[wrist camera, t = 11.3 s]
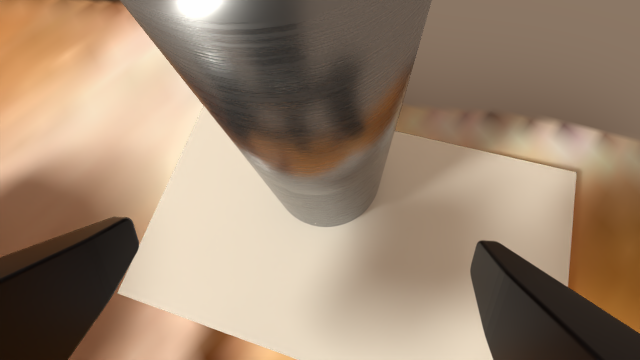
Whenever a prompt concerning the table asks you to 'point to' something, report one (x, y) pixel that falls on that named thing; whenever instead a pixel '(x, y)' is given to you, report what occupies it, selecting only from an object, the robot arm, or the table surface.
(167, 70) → the table surface
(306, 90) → the tin
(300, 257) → the tile
